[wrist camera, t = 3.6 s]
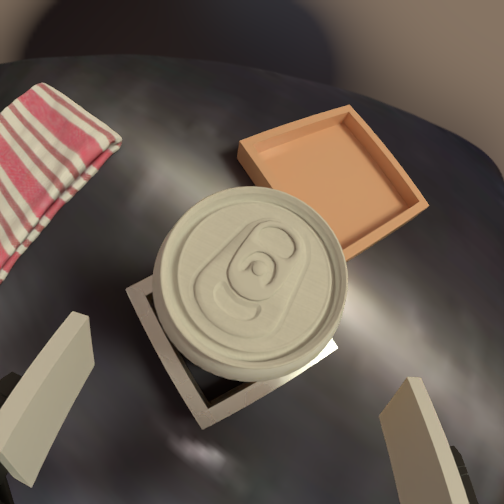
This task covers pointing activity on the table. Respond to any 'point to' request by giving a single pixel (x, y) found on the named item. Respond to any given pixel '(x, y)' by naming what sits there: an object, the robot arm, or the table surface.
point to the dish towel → (44, 163)
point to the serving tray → (336, 175)
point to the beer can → (250, 284)
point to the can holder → (181, 374)
